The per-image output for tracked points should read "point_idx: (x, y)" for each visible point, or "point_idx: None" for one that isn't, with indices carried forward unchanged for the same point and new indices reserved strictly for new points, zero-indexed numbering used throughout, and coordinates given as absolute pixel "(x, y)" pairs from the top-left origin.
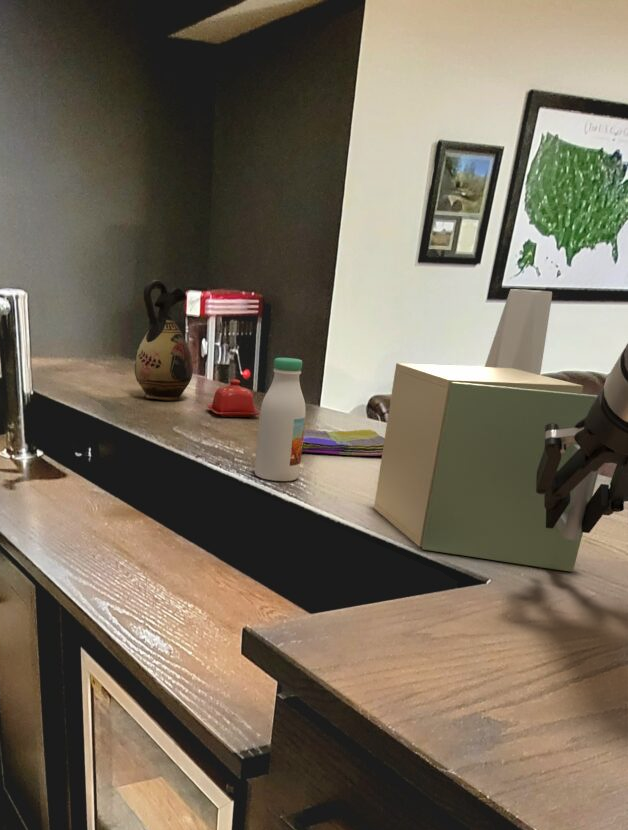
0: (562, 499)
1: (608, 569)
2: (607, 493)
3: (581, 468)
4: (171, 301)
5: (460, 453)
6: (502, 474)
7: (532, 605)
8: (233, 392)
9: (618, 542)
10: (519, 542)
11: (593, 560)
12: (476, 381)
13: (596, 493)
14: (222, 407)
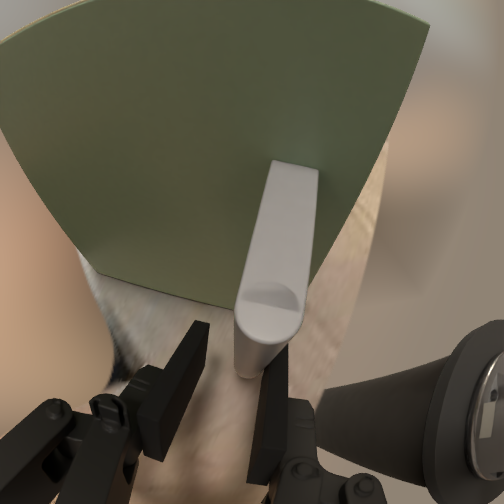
0: (143, 452)
1: (344, 293)
2: (273, 465)
3: None
4: None
5: (46, 175)
6: (126, 209)
7: (172, 447)
8: None
9: (378, 203)
10: (204, 290)
11: (335, 265)
12: (39, 19)
13: (262, 420)
14: None
